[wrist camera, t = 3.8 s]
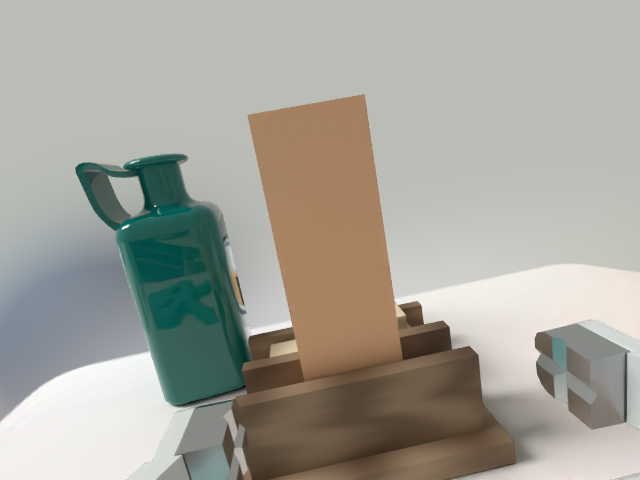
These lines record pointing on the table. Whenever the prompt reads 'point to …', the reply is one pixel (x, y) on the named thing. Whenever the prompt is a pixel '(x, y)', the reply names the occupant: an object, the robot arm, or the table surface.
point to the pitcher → (177, 277)
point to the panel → (329, 234)
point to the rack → (371, 413)
